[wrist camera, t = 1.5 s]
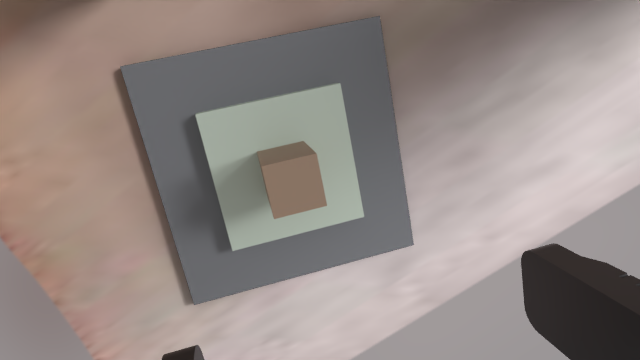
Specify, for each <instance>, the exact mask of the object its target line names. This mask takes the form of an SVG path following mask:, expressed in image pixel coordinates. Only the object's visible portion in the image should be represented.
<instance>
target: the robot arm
mask: <svg viewBox="0 0 640 360" xmlns="http://www.w3.org/2000/svg"><path fill="white" fill-rule="evenodd" d="M521 266H522V279H523V292H524V305H525V311H526V314H527V317H528V319H529V321H530V323H531V324H532V326H533V327H534V328H535V330H536V331H537V332H538V333H539V334H541V335H542V336H543V337H544V338H545V339H547V340H548V341H549V342H550V343H551V344H553V345H554V346H555V347H556V348H557V349H558V350H560V351H561V352H562V353H563V354H564V355H566V356H567V357H568V358H569V359H570V360H640V280H639V279H637V278H635V277H633V276H631V275H630V276H628V275H627V273H626V272H624V271H622V270H620V269H617V268H615V267H613V266H611V265H609V264H607V263H605V262H601V261H597V260H593V259H589V258H586V257H581V256H579V255H578V254H575V253H574V252H572V251H570V250H568V249H566V248H564V247H562V246H560V245H558V244H549V245H546V246H542V247H539V248H535V249H532V250H528V251H525V252H524V253H523V255H522V258H521ZM162 360H204V357H203V354H202V351H201V349H200V347H199V346H198V345H196V346H192V347H189V348H185V349H182V350H178V351H175V352H171V353H168V354H164V355H163V357H162Z"/></svg>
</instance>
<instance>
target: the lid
mask: <svg viewBox="0 0 640 360" xmlns="http://www.w3.org/2000/svg"><path fill="white" fill-rule="evenodd" d="M195 116H196V119H197V123H198V127H199V130H200V134H201V138H202V141H203V145H204V149H205V152H206V156H207V159H208V163H209V167H210V170H211V174H212V178H213V181H214V185H215V189H216V192H217V196H218V200H219V203H220V207H221V211H222V214H223V218H224V222H225V225H226V229H227V233H228V236H229V240H230V244H231V247H232V251H235V250H239V249H243V248H247V247H250V246H254V245H258V244H262V243H266V242H270V241H273V240H277V239H281V238H285V237H289V236H293V235H297V234H300V233H304V232H308V231H312V230H316V229H320V228H323V227H327V226H331V225H335V224H339V223H343V222H347V221H350V220H354V219H358V218H362V217H364V212H363V207H362V201H361V195H360V190H359V184H358V179H357V173H356V167H355V162H354V156H353V151H352V145H351V139H350V134H349V128H348V123H347V117H346V112H345V106H344V100H343V95H342V89H341V84H340V83H334V84H329V85H325V86H320V87H315V88H311V89H306V90H301V91H297V92H292V93H287V94H283V95H278V96H273V97H269V98H264V99H259V100H255V101H250V102H245V103H241V104H236V105H231V106H227V107H222V108H217V109H213V110H208V111H203V112H199V113H196V114H195Z"/></svg>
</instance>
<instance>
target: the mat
mask: <svg viewBox="0 0 640 360" xmlns="http://www.w3.org/2000/svg"><path fill="white" fill-rule="evenodd" d="M120 68H121V71H122V74H123V78H124V81H125V84H126V87H127V90H128V94H129V97H130V100H131V103H132V106H133V110H134V113H135V116H136V119H137V123H138V126H139V129H140V132H141V135H142V139H143V142H144V145H145V148H146V151H147V155H148V158H149V161H150V164H151V167H152V171H153V174H154V177H155V180H156V184H157V187H158V190H159V193H160V196H161V200H162V203H163V206H164V209H165V212H166V216H167V219H168V222H169V225H170V229H171V232H172V235H173V238H174V241H175V245H176V248H177V251H178V254H179V257H180V261H181V264H182V267H183V270H184V273H185V277H186V280H187V283H188V286H189V290H190V293H191V296H192V299H193V302H194V305H196V304H200V303H203V302H207V301H211V300H214V299H218V298H222V297H225V296H229V295H232V294H236V293H240V292H243V291H247V290H251V289H254V288H258V287H262V286H265V285H269V284H273V283H276V282H280V281H284V280H287V279H291V278H295V277H298V276H302V275H306V274H309V273H313V272H317V271H320V270H324V269H327V268H331V267H335V266H338V265H342V264H346V263H349V262H353V261H357V260H360V259H364V258H368V257H371V256H375V255H379V254H382V253H386V252H390V251H393V250H397V249H401V248H404V247H408V246H412V245H414V243H413V236H412V230H411V223H410V216H409V210H408V203H407V196H406V189H405V183H404V176H403V169H402V162H401V156H400V149H399V142H398V136H397V129H396V122H395V115H394V109H393V102H392V95H391V88H390V82H389V75H388V68H387V62H386V55H385V48H384V41H383V35H382V28H381V21H380V16H377V17H372V18H367V19H362V20H356V21H351V22H346V23H341V24H336V25H331V26H326V27H321V28H315V29H310V30H305V31H300V32H295V33H290V34H285V35H279V36H274V37H269V38H264V39H259V40H254V41H249V42H244V43H238V44H233V45H228V46H223V47H218V48H213V49H208V50H202V51H197V52H192V53H187V54H182V55H177V56H172V57H167V58H161V59H156V60H151V61H146V62H141V63H136V64H131V65H125V66H120ZM334 83H340V84H341V89H342V95H343V100H344V106H345V112H346V117H347V123H348V128H349V134H350V139H351V145H352V151H353V156H354V162H355V167H356V173H357V179H358V184H359V190H360V195H361V201H362V207H363V212H364V217H362V218H358V219H354V220H350V221H347V222H343V223H339V224H335V225H331V226H327V227H323V228H320V229H316V230H312V231H308V232H304V233H300V234H297V235H293V236H289V237H285V238H281V239H277V240H273V241H270V242H266V243H262V244H258V245H254V246H250V247H247V248H243V249H239V250H235V251H232V247H231V244H230V240H229V236H228V233H227V229H226V225H225V222H224V218H223V214H222V211H221V207H220V203H219V200H218V196H217V192H216V189H215V185H214V181H213V178H212V174H211V170H210V167H209V163H208V159H207V156H206V152H205V149H204V145H203V141H202V138H201V134H200V130H199V127H198V123H197V119H196V116H195V114H196V113H199V112H203V111H208V110H213V109H217V108H222V107H227V106H231V105H236V104H241V103H245V102H250V101H255V100H259V99H264V98H269V97H273V96H278V95H283V94H287V93H292V92H297V91H301V90H306V89H311V88H315V87H320V86H325V85H329V84H334Z"/></svg>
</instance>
